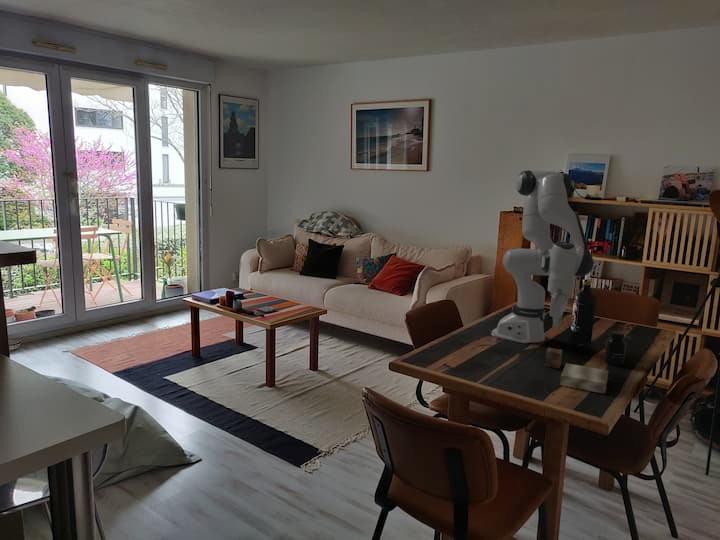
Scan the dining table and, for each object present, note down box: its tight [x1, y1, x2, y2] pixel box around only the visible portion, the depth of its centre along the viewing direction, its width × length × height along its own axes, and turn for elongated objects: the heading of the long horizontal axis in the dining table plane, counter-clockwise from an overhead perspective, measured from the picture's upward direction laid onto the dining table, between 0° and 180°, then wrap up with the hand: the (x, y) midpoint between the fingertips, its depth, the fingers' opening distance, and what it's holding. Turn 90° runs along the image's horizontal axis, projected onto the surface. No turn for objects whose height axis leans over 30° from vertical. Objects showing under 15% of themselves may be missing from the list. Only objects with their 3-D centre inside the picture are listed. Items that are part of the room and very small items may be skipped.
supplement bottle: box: [603, 330, 627, 366], centre depth 208 cm, size 7×7×12 cm
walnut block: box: [544, 347, 563, 370], centre depth 204 cm, size 5×5×6 cm
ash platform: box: [559, 362, 609, 395], centre depth 188 cm, size 14×14×4 cm
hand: (557, 324), depth 201 cm, fingers open, 8 cm apart
